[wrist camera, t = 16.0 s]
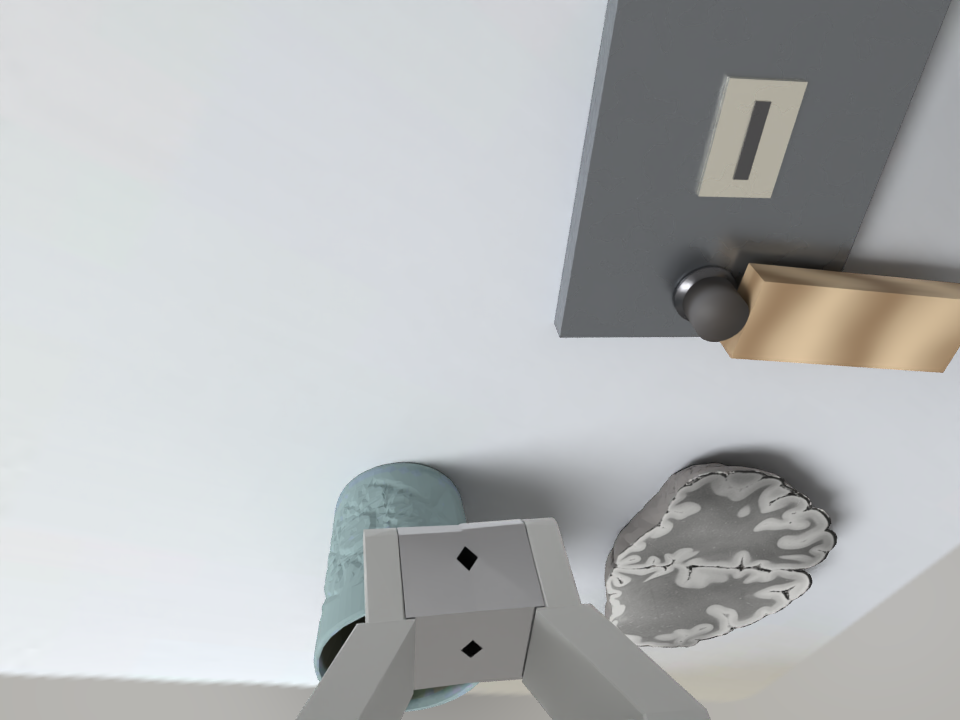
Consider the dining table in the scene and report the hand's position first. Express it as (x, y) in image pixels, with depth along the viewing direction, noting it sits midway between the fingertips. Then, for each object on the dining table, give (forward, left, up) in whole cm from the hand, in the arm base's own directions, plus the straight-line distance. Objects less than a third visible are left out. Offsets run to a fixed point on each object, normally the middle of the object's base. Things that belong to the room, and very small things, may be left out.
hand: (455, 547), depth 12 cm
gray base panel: (+1, +18, -30) cm, 35 cm away
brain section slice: (+35, +25, -30) cm, 53 cm away
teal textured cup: (+30, +1, -30) cm, 42 cm away
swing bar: (+13, +25, -27) cm, 39 cm away
